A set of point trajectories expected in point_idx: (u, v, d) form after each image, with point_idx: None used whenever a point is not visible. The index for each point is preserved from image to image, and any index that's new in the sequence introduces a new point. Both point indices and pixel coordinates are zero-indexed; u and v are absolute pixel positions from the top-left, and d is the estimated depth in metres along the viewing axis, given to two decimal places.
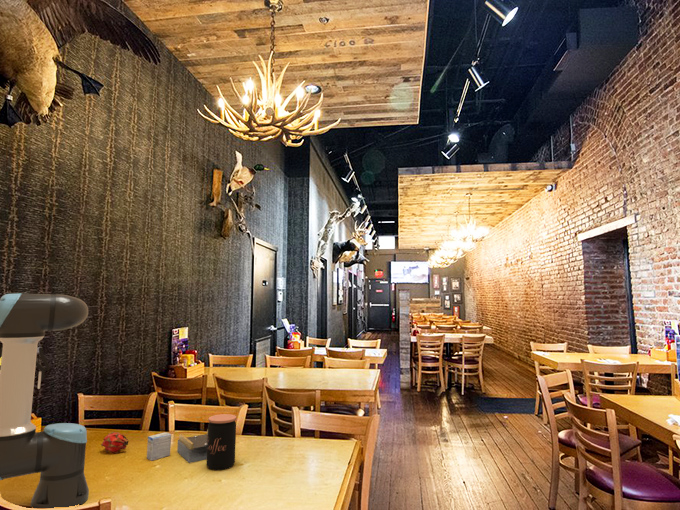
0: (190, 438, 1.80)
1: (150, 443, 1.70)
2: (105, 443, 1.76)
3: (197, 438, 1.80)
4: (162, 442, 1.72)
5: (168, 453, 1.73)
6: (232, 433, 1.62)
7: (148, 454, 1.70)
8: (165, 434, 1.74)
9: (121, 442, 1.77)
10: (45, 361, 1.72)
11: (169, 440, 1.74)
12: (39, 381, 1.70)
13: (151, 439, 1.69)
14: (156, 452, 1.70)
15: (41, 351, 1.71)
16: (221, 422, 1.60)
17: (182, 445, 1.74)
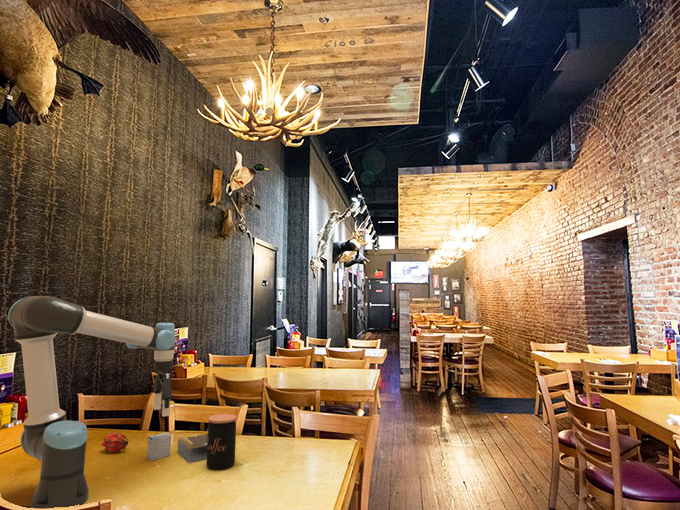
0: (190, 438, 1.80)
1: (150, 443, 1.70)
2: (105, 443, 1.76)
3: (197, 438, 1.80)
4: (162, 442, 1.72)
5: (168, 453, 1.73)
6: (232, 433, 1.62)
7: (148, 454, 1.70)
8: (165, 434, 1.74)
9: (121, 442, 1.77)
10: (164, 389, 1.68)
11: (169, 440, 1.74)
12: (162, 409, 1.69)
13: (151, 439, 1.69)
14: (156, 452, 1.70)
15: (164, 378, 1.70)
16: (221, 422, 1.60)
17: (182, 445, 1.74)
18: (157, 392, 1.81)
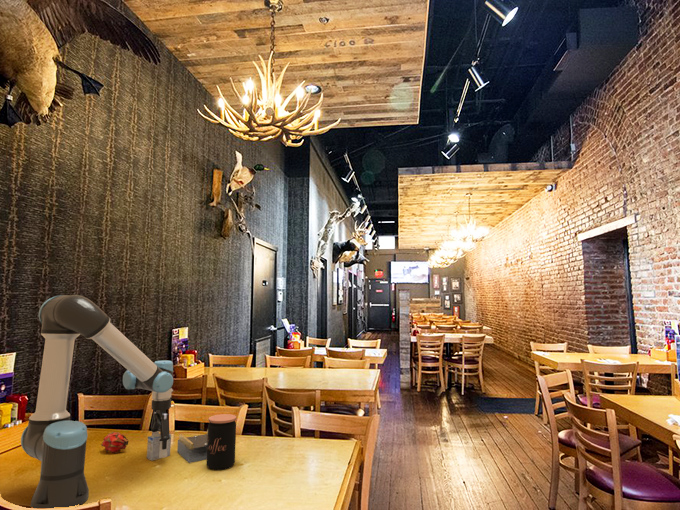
0: (190, 438, 1.80)
1: (150, 443, 1.70)
2: (105, 443, 1.76)
3: (197, 438, 1.80)
4: None
5: (168, 453, 1.73)
6: (232, 433, 1.62)
7: (148, 454, 1.70)
8: None
9: (121, 442, 1.77)
10: (162, 430, 1.66)
11: (169, 440, 1.74)
12: None
13: (151, 439, 1.69)
14: (156, 452, 1.70)
15: (161, 419, 1.68)
16: (221, 422, 1.60)
17: (182, 445, 1.74)
18: (155, 430, 1.79)
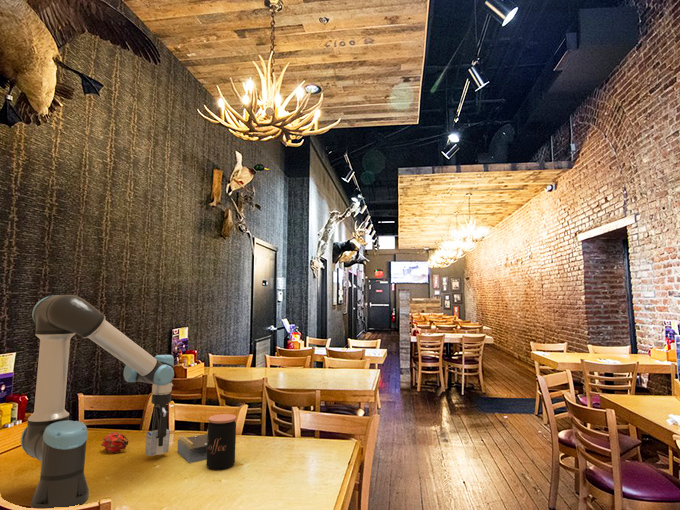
0: (190, 438, 1.80)
1: (148, 438, 1.69)
2: (105, 443, 1.76)
3: (197, 438, 1.80)
4: None
5: (166, 449, 1.73)
6: (232, 433, 1.62)
7: (146, 449, 1.69)
8: None
9: (121, 442, 1.77)
10: (160, 427, 1.68)
11: (168, 436, 1.73)
12: (156, 447, 1.69)
13: (150, 434, 1.69)
14: (155, 448, 1.69)
15: (161, 416, 1.69)
16: (221, 422, 1.60)
17: (182, 445, 1.74)
18: None
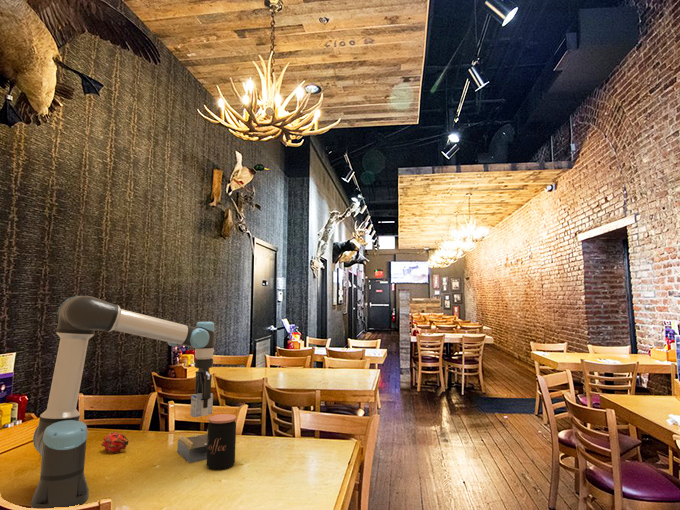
0: (190, 438, 1.80)
1: (194, 401, 1.76)
2: (105, 443, 1.76)
3: (197, 438, 1.80)
4: None
5: (210, 411, 1.79)
6: (232, 433, 1.62)
7: (192, 411, 1.76)
8: None
9: (121, 442, 1.77)
10: (204, 390, 1.74)
11: (211, 399, 1.80)
12: (201, 409, 1.75)
13: (195, 397, 1.75)
14: (200, 409, 1.75)
15: (205, 379, 1.75)
16: (221, 422, 1.60)
17: (182, 445, 1.74)
18: None
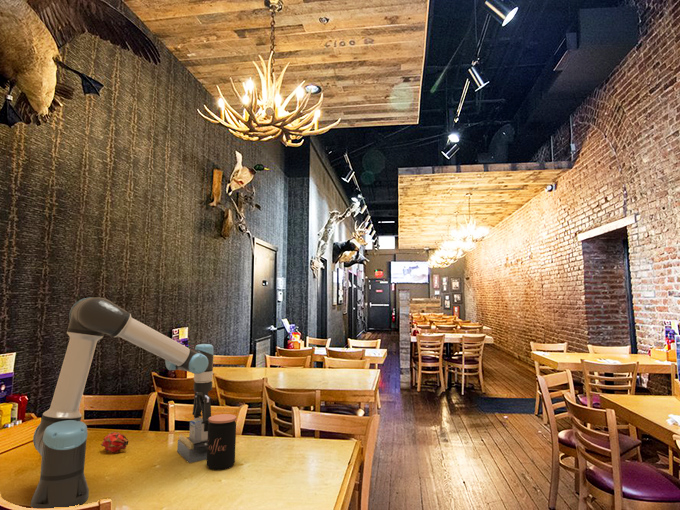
0: None
1: (192, 427, 1.74)
2: (105, 443, 1.76)
3: None
4: None
5: None
6: (232, 433, 1.62)
7: (190, 437, 1.74)
8: None
9: (121, 442, 1.77)
10: (204, 413, 1.72)
11: None
12: None
13: (193, 423, 1.74)
14: (198, 436, 1.74)
15: (204, 401, 1.73)
16: (221, 422, 1.60)
17: (182, 445, 1.74)
18: (197, 416, 1.82)
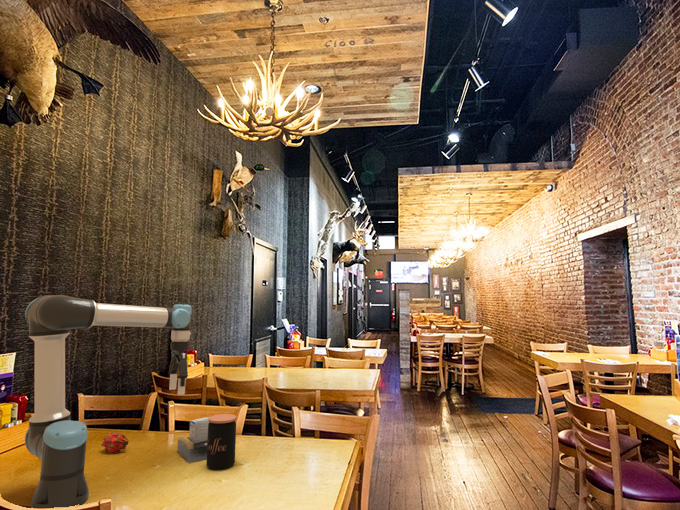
0: None
1: (192, 427, 1.74)
2: (105, 443, 1.76)
3: None
4: (203, 426, 1.76)
5: None
6: (232, 433, 1.62)
7: (190, 437, 1.74)
8: (206, 419, 1.79)
9: (121, 442, 1.77)
10: (180, 368, 1.72)
11: None
12: (178, 387, 1.72)
13: (193, 423, 1.74)
14: (198, 436, 1.74)
15: (180, 357, 1.74)
16: (221, 422, 1.60)
17: (182, 445, 1.74)
18: (173, 373, 1.84)
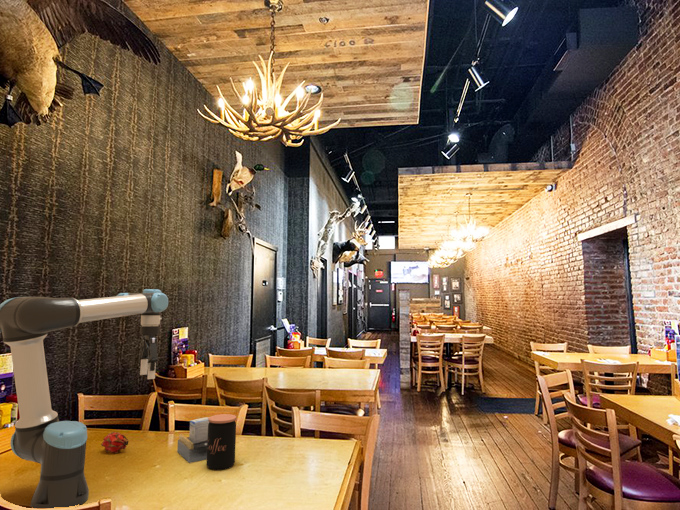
0: None
1: (192, 427, 1.74)
2: (105, 443, 1.76)
3: None
4: (203, 426, 1.76)
5: None
6: (232, 433, 1.62)
7: (190, 437, 1.74)
8: (206, 419, 1.79)
9: (121, 442, 1.77)
10: (150, 352, 1.71)
11: None
12: (148, 372, 1.71)
13: (193, 423, 1.74)
14: (198, 436, 1.74)
15: (150, 342, 1.73)
16: (221, 422, 1.60)
17: (182, 445, 1.74)
18: (144, 358, 1.84)
